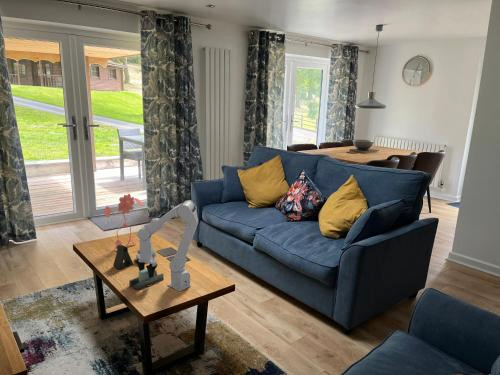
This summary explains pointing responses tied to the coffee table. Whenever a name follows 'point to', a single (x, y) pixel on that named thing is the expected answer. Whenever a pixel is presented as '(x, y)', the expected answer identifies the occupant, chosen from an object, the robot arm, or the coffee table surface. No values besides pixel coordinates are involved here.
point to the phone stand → (122, 258)
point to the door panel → (144, 275)
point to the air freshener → (152, 252)
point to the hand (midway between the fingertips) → (146, 275)
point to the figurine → (124, 206)
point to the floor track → (136, 285)
